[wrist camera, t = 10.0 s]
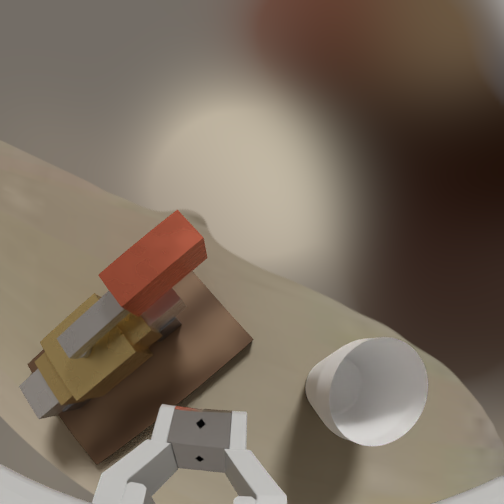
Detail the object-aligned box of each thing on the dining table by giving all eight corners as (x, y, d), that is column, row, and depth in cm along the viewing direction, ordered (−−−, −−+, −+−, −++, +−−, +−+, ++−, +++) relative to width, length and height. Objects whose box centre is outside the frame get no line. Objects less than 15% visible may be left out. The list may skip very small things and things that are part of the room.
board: (252, 340, 33) (253, 339, 32) (101, 461, 27) (96, 464, 25) (170, 247, 36) (168, 242, 35) (34, 365, 30) (27, 364, 28)
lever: (84, 367, 21) (56, 366, 17) (66, 340, 22) (36, 332, 18) (207, 260, 25) (203, 237, 21) (185, 236, 26) (177, 209, 21)
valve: (199, 322, 32) (188, 307, 24) (79, 420, 27) (39, 431, 19) (163, 279, 33) (143, 252, 25) (49, 376, 28) (5, 375, 20)
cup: (278, 401, 31) (302, 419, 20) (321, 331, 34) (363, 313, 23) (345, 437, 30) (395, 463, 19) (383, 369, 33) (445, 365, 22)
